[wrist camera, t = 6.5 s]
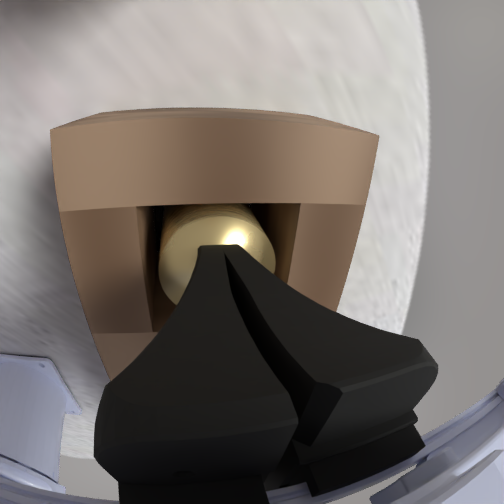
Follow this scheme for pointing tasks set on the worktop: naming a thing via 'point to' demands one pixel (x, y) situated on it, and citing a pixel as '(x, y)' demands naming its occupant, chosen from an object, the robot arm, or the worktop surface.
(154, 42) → the worktop surface
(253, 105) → the worktop surface
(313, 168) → the walnut peg board
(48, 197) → the worktop surface
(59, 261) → the worktop surface
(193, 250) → the brass peg
